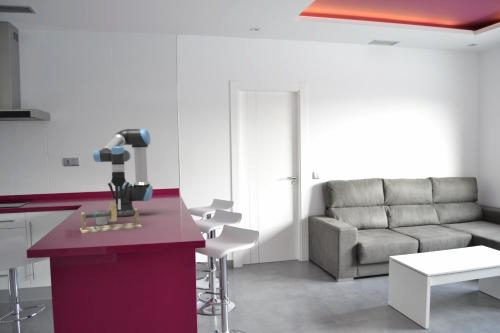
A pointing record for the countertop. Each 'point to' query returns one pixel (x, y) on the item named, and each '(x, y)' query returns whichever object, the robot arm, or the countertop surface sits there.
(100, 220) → the cup
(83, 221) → the rail
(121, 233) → the countertop surface
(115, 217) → the collar
